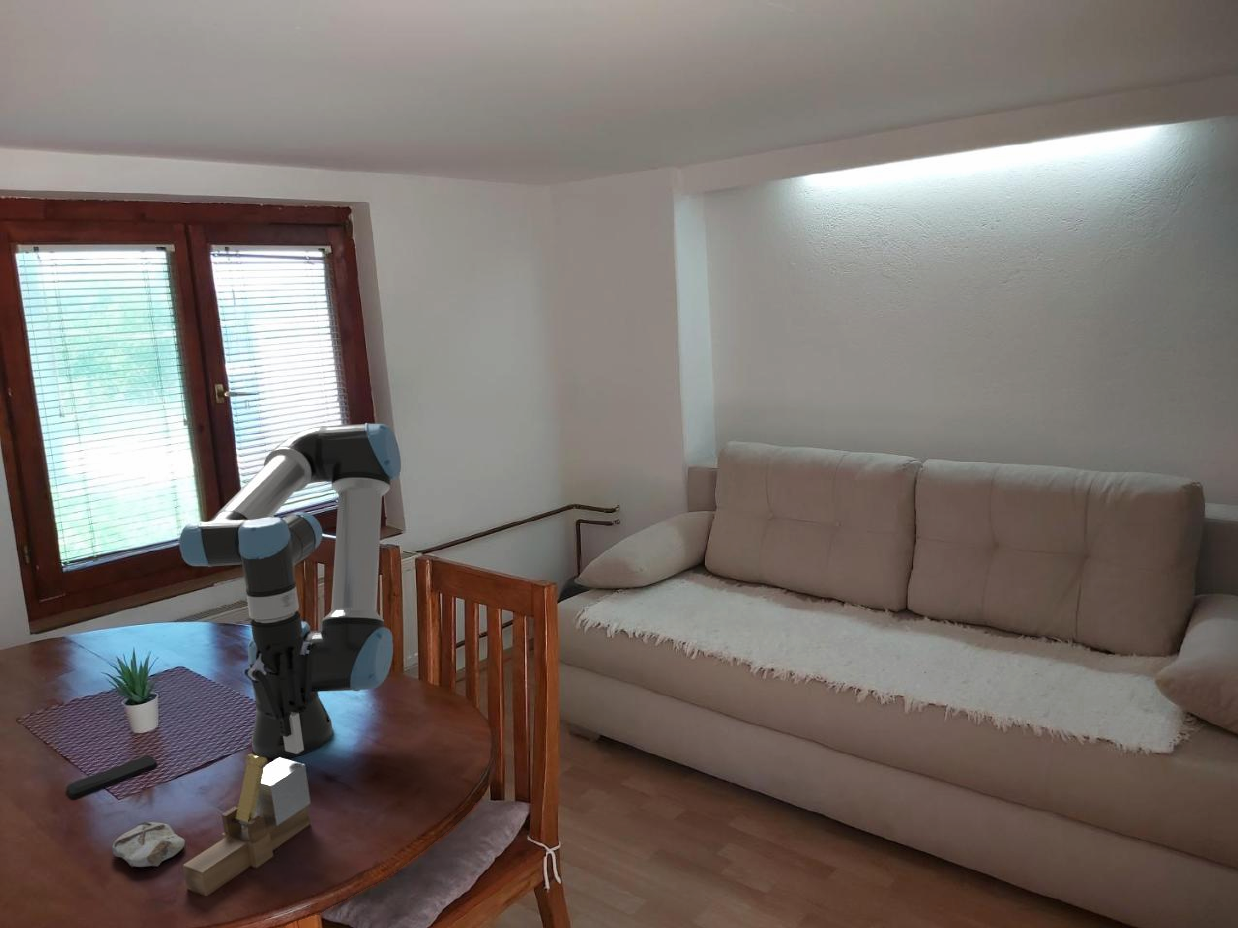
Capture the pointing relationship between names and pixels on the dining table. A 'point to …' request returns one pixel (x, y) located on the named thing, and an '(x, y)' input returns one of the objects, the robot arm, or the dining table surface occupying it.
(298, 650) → the robot arm
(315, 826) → the dining table surface
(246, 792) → the lever
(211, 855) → the tan wooden beam joint
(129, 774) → the remote control
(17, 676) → the dining table surface
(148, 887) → the dining table surface
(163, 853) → the stone
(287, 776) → the brushed steel cube
